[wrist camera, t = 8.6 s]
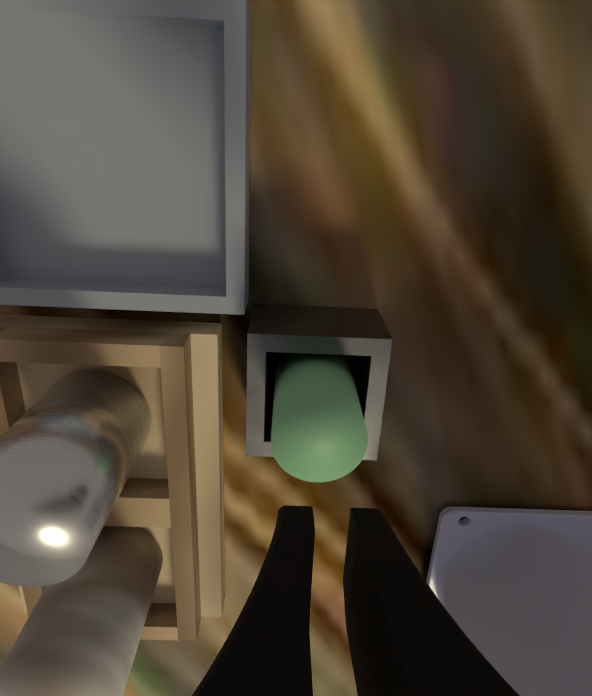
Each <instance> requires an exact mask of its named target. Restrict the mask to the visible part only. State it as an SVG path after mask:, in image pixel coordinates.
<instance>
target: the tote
mask: <svg viewBox="0 0 592 696" xmlns="http://www.w3.org/2000/svg"><path fill="white" fill-rule="evenodd" d="M251 11H252V10H251V7H250V4H249V1H248V0H0V305H19V306H43V307H67V308H91V309H116V310H140V311H164V312H188V313H212V314H236V315H244V314H245V311H246V307H247V303H248V299H249V214H250V113H251Z"/></svg>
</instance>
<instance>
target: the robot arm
mask: <svg viewBox="0 0 592 696" xmlns="http://www.w3.org/2000/svg"><path fill="white" fill-rule="evenodd" d="M462 517H466V518H465V519H463V520H459V519H460V518H462ZM314 538H315V527H314V517H313V509H312V507H310V506H283V507H282V508H280V509H279V510H278V518H277V523H276V528H275V531H274V535H273V538H272V541H271V544H270V547H269V550H268V553H267V556H266V558H265V560H264V563H263V565H262V568H261V570H260V573H259V575H258V578H257V580H256V582H255V585H254V587H253V589H252V591H251V593H250V595H249V597H248V599H247V601H246V603H245V605H244V607H243V609H242V611H241V613H240V615H239V617H238V619H237V621H236V623H235V625H234V627H233V629H232V631H231V633H230V634H229V636H228V638H227V640H226V642H225V643H224V645H223V647H222V649H221V650H220V652H219V654H218V655H217V657H216V659H215V660H214V662H213V664H212V665H211V667H210V669H209V670H208V672H207V673H206V675H205V677H204V678H203V680H202V681H201V683H200V684H199V686H198V687H197V689H196V690H195V692H194V694H193V695H192V696H313V689H312V672H311V654H310V636H309V625H310V600H311V584H312V569H313V553H314ZM343 587H344V602H345V616H346V629H347V635H348V641H349V647H350V652H351V658H352V664H353V670H354V676H355V682H356V687H357V693H358V696H592V511H573V510H543V509H512V508H482V507H447V508H445V509H443V510H442V511H441V512H440V515H439V519H438V524H437V529H436V534H435V539H434V544H433V549H432V554H431V560H430V565H429V570H428V575H427V580H426V581H425V579H424V578H423V576H422V575H421V574H420V572H419V571H418V569H417V568H416V566H415V565H414V563H413V562H412V560H411V559H410V557H409V555H408V554H407V552H406V551H405V549H404V548H403V546H402V544H401V543H400V541H399V539H398V538H397V536H396V535H395V533H394V531H393V529H392V528H391V526H390V524H389V522H388V521H387V519H386V517H385V515H384V513H383V512H382V511H381V510H380V509H372V508H351V511H350V520H349V529H348V538H347V547H346V556H345V565H344V574H343Z"/></svg>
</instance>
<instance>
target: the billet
mask: <svg viewBox="0 0 592 696" xmlns="http://www.w3.org/2000/svg"><path fill="white" fill-rule="evenodd" d="M150 431H151V413H150V410H149V407H148V405H147V402H146V400H145V399H144V397H143V396H142V394H141V393H140V392H139V391H138V390H137V389H136V388H135V387H134V386H133V385H132V384H131V383H129V382H128V381H127V380H125V379H123V378H122V377H120V376H118V375H116V374H113V373H110V372H107V371H103V370H97V369H83V370H77V371H73V372H70V373H68V374H66V375H64V376H62V377H61V378H59V379H58V380H57V381H56V382H55V383H54V384H53V385H52V386H51V387H50V388H49V389H48V390H47V391H46V392H45V393H44V394H43V395H42V396H41V397H40V398H39V399H38V400H37V401H36V402H35V403H34V404H33V405H32V406H31V407H30V408H29V409H28V410H27V411H26V412H25V413H24V414H23V415H22V416H21V417H20V418H19V419H18V420H17V421H16V422H15V423H14V424H13V425H12V426H11V427H10V428H9V430H8V431H7V432H6V433H5V434H4V435H3V436H2V437H1V438H0V582H2V583H6V584H9V585H15V586H22V587H42V586H48V585H53V584H56V583H59V582H62V581H64V580H66V579H68V578H70V577H71V576H73V575H74V574H76V573H77V572H78V571H79V570H80V569H81V568H82V566H83V565H84V564H85V562H86V560H87V558H88V556H89V554H90V552H91V550H92V548H93V546H94V544H95V542H96V540H97V538H98V536H99V534H100V532H101V530H102V528H103V526H104V524H105V522H106V520H107V518H108V516H109V514H110V512H111V510H112V508H113V506H114V504H115V503H116V501H117V499H118V497H119V495H120V493H121V491H122V489H123V487H124V485H125V483H126V481H127V479H128V477H129V475H130V473H131V471H132V469H133V467H134V465H135V463H136V461H137V459H138V457H139V455H140V453H141V451H142V449H143V447H144V445H145V443H146V441H147V439H148V437H149V434H150Z"/></svg>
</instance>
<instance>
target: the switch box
mask: <svg viewBox="0 0 592 696" xmlns="http://www.w3.org/2000/svg"><path fill="white" fill-rule="evenodd" d="M391 347H392V338H391V335H390V333H389V331H388V329H387V327H386V325H385V323H384V321H383V319H382V317H381V315H380V313H379V311H378V309H356V308H332V307H308V306H284V305H261V304H254V306H253V311H252V315H251V320H250V324H249V328H248V333H247V422H246V456H265V457H274V455H273V453H272V449H271V430H272V416H273V403H274V400H268V369H269V352H284V353H309V354H334V355H357V360H356V370H355V380H354V382H355V386H356V390H357V394H358V398H359V402H360V406H361V410H362V414H363V418H364V422H365V426H366V430H367V435H368V445H367V450H366V453H365V455H364V457H363V459H362V460H377V455H378V447H379V439H380V432H381V424H382V416H383V409H384V401H385V393H386V385H387V378H388V370H389V362H390V354H391Z"/></svg>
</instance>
